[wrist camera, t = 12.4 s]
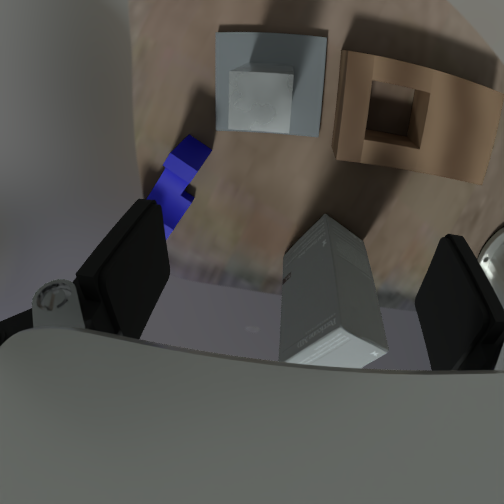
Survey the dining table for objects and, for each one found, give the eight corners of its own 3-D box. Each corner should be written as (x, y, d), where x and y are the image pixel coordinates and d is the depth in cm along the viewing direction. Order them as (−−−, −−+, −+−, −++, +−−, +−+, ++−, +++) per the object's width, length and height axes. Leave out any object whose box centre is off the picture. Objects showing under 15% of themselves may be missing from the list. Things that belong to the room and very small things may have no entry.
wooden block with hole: (484, 86, 24) (504, 94, 20) (466, 169, 30) (481, 185, 26) (341, 49, 25) (348, 50, 22) (331, 146, 31) (336, 159, 28)
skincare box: (325, 210, 35) (338, 319, 23) (369, 244, 37) (395, 352, 25) (279, 257, 40) (269, 367, 27) (322, 285, 42) (327, 392, 29)
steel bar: (293, 65, 26) (293, 74, 18) (290, 105, 28) (289, 133, 20) (249, 62, 26) (229, 71, 18) (247, 102, 28) (228, 129, 21)
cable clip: (171, 230, 40) (154, 260, 35) (141, 210, 38) (120, 238, 34) (224, 157, 33) (211, 180, 29) (189, 133, 32) (170, 152, 27)
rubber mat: (326, 37, 24) (326, 37, 24) (317, 135, 30) (318, 137, 30) (217, 32, 25) (215, 32, 24) (217, 128, 31) (215, 130, 31)
